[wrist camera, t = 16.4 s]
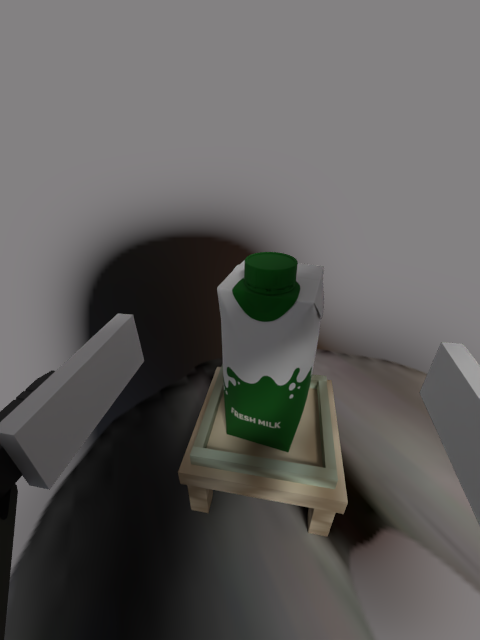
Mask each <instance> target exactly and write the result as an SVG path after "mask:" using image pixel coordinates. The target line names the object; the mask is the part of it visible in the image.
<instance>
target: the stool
mask: <svg viewBox="0 0 480 640" xmlns="http://www.w3.org/2000/svg"><path fill="white" fill-rule="evenodd" d="M178 475H179V480H180V484H185V485H187V486H188V492H189V498H190V504H191V510H195V511H200V512H205V513H209V509H210V505H211V501H212V497H213V490H217V491H223V492H228V493H233V494H239V495H244V496H250V497H255V498H260V499H266V500H271V501H277V502H282V503H288V504H293V505H298V506H304V507H309V509H308V533H312V534H317V535H322V536H328V533H329V530H330V527H331V525H332V522H333V519H334V516H335V513H342V514H344V511H345V509H346V506H347V503H348V501H347V493H346V486H345V478H344V471H343V463H342V456H341V448H340V441H339V433H338V426H337V418H336V411H335V403H334V396H333V388H332V381H331V380H327V379H326V376H321V375H312V377H311V383H310V388H309V392H308V396H307V400H306V403H305V407H304V411H303V413H302V416H301V419H300V422H299V425H298V428H297V430H296V433H295V436H294V439H293V441H292V444H291V447H290V450H289V452H285V451H282V450H278V449H275V448H272V447H268V446H265V445H262V444H258V443H255V442H252V441H248V440H245V439H242V438H238V437H235V436H232V435H228V434H227V432H226V417H225V403H224V381H223V364H222V366H221V367H217V369H216V371H215V374H214V377H213V379H212V382H211V385H210V388H209V390H208V393H207V396H206V398H205V401H204V404H203V406H202V409H201V412H200V414H199V417H198V420H197V423H196V425H195V428H194V431H193V433H192V436H191V439H190V441H189V444H188V447H187V449H186V452H185V455H184V457H183V460H182V463H181V466H180V468H179V471H178Z"/></svg>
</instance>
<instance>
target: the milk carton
mask: <svg viewBox="0 0 480 640" xmlns="http://www.w3.org/2000/svg"><path fill="white" fill-rule="evenodd" d="M323 271H324V267H323V266H316V265H306V264H298V263H297V260H296V259H295V258H294V257H292V256H290V255H287V254H283V253H276V252H261V253H255V254H252V255H249V256H248V257H246V259H245V260H244V261H243V262H242V263H241V264H240V265H237V266H236V267H235V269H234V270H233V271H232V272H231V273H230V275H229V276H228V277H227V278H226V279H225V280H224V281H223V282H222V283H221V284H220V285H219V286H218V288H217V292H218V299H219V306H220V314H221V326H222V352H223V353H222V354H223V381H224V403H225V417H226V432H227V434H228V435H232V436H235V437H238V438H242V439H245V440H248V441H252V442H255V443H258V444H262V445H265V446H268V447H272V448H275V449H278V450H282V451H285V452H289V450H290V447H291V444H292V441H293V439H294V436H295V433H296V430H297V428H298V425H299V422H300V419H301V416H302V413H303V411H304V407H305V403H306V400H307V396H308V392H309V388H310V383H311V377H312V371H313V366H314V360H315V354H316V348H317V343H318V337H319V330H320V320H321V319H322V316H323V308H324V291H323Z"/></svg>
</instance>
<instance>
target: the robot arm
mask: <svg viewBox="0 0 480 640" xmlns="http://www.w3.org/2000/svg"><path fill="white" fill-rule="evenodd" d="M143 362H144V358H143V354H142V350H141V346H140V342H139V338H138V334H137V330H136V326H135V322H134V318H133V315H128V314H117V315H116V316H115V317H114V318H113V319H112V320H111V321H109V322H108V323H107V324H106V325H105V326H104V327H103V328H102V329H101V330H100V331H99V332H98V333H96V334H95V335H94V336H93V337H92V338H91V339H90V340H89V341H88V342H87V343H86V344H85V345H83V346H82V347H81V348H80V349H79V350H78V351H77V352H76V353H75V354H74V355H73V356H72V357H70V358H69V359H68V360H67V361H66V362H65V363H64V364H63V365H62V366H61V367H60V368H59V369H57V370H56V371H51V372H49V373H47V374H45V375H43V376H42V377H40V378H38V379H37V380H36V381H34V382H33V383H32V384H31V385H30V386H29V387H28V388H27V389H26V391H23V392H22V393H21V394H20V395H19V396H18V397H16V400H13V401H12V402H11V403H10V404H9V405H7V406H6V407H5V408H4V409H3V410H2V411H1V412H0V640H4V634H5V624H6V613H7V602H8V591H9V580H10V570H11V559H12V547H13V537H14V526H15V516H16V504H17V494H18V490H17V485H16V484H15V483H16V482H17V480H18V479H19V478H20V477H21V476H22V475H23V477H24V478H25V479H26V481H27V482H28V484H29V485H31V486H36V487H40V488H45V489H50V488H51V487H52V485H53V484H54V483H55V482H56V480H57V479H58V477H59V476H60V475H61V473H62V472H63V471H64V469H65V468H66V467H67V465H68V464H69V463H70V461H71V460H72V458H73V457H74V456H75V454H76V453H77V452H78V450H79V449H80V448H81V446H82V445H83V443H84V442H85V441H86V439H87V438H88V437H89V435H90V434H91V433H92V431H93V430H94V428H95V427H96V426H97V424H98V423H99V421H100V420H101V419H102V418H103V416H104V415H105V413H106V412H107V411H108V409H109V408H110V407H111V405H112V404H113V402H114V401H115V399H116V398H117V397H118V396H119V394H120V393H121V392H122V390H123V389H124V388H125V386H126V385H127V383H128V382H129V381H130V379H131V378H132V376H133V375H134V374H135V373H136V371H137V370H138V368H139V367H140V365H141V364H142V363H143ZM420 395H421V397H422V399H423V401H424V404H425V406H426V408H427V410H428V413H429V415H430V417H431V419H432V421H433V424H434V426H435V428H436V430H437V432H438V435H439V437H440V439H441V441H442V444H443V446H444V448H445V450H446V452H447V455H448V457H449V459H450V461H451V463H452V466H453V468H454V470H455V472H456V475H457V477H458V479H459V481H460V483H461V486H462V488H463V490H464V492H465V494H466V497H467V499H468V501H469V503H470V506H471V508H472V510H473V512H474V514H475V517H476V519H477V521H478V523H479V525H480V365H479V364H478V363H477V362H476V360H475V359H474V358H473V356H472V355H471V354H470V352H469V351H468V350H467V349H466V348H465V346H464V345H463V344H457V343H445V342H441V344H440V346H439V349H438V351H437V353H436V356H435V358H434V360H433V363H432V365H431V367H430V370H429V372H428V374H427V377H426V379H425V381H424V384H423V386H422V388H421V391H420Z"/></svg>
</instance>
